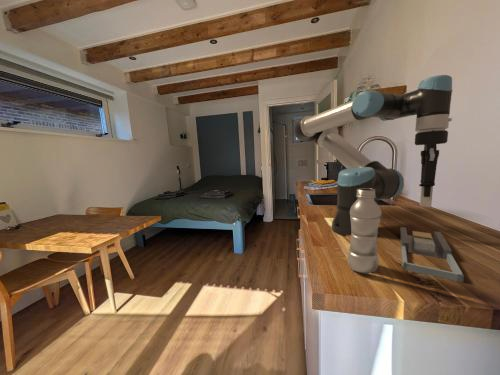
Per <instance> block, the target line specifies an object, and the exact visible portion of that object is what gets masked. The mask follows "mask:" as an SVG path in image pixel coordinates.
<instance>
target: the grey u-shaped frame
mask: <svg viewBox="0 0 500 375" xmlns="http://www.w3.org/2000/svg"><path fill="white" fill-rule="evenodd" d="M400 249H401V248H400ZM401 261H402V262H401V263H402V270H405V271H411V272H415V273H418V274H422V275H423V274H424V275H428V276H432V277H437V278H441V279H445V280H450V281H454V282H458V283H464V280H465V279H464V277H465V276H464V274H463V272H462V270H461V269H460V266H459V265H458V263H457V262H456V260H455V258H454V256H453V254H452V255H451V254H447V259H446V262H447V263H448V265H449V267H450V269H451V271H448V270H444V269H439V268H434V267H430V266H425V265H420V264H416V263H411V262H408V257H407V252H406V248H405V246H402V249H401Z"/></svg>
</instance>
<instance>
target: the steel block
mask: <svg viewBox="0 0 500 375" xmlns="http://www.w3.org/2000/svg"><path fill="white" fill-rule="evenodd" d="M413 248H414V251H417V252H423V253H428V254H434V253H435V244H434V242H433V240H430V239H423V238H416V237H414V239H413Z"/></svg>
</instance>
